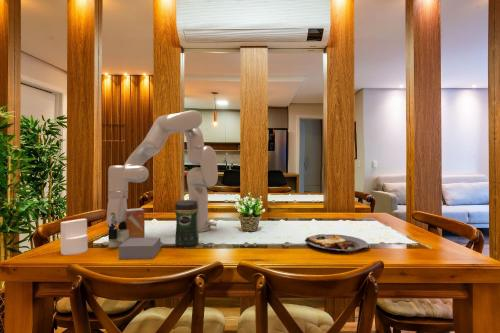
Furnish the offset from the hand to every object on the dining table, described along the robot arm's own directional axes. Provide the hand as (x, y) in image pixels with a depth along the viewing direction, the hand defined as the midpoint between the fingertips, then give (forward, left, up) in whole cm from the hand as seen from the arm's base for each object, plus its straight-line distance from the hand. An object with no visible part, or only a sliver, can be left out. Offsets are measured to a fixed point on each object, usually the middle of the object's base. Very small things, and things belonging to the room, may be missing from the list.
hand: (117, 236), depth 127 cm
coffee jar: (-28, -1, -4) cm, 29 cm away
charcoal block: (-13, +12, -4) cm, 18 cm away
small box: (-2, -12, -4) cm, 13 cm away
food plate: (-90, +3, -4) cm, 90 cm away
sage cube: (0, 0, -4) cm, 4 cm away
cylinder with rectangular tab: (+14, +8, -4) cm, 16 cm away
